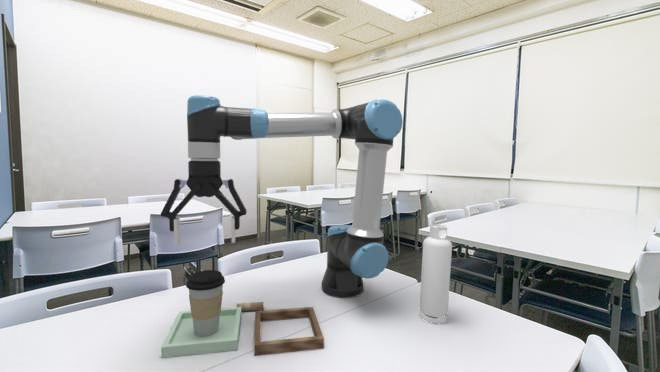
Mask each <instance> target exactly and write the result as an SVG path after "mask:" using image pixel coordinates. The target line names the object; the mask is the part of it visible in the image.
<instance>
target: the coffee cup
mask: <svg viewBox="0 0 660 372" xmlns="http://www.w3.org/2000/svg"><path fill="white" fill-rule="evenodd" d="M225 282H226V280H225V277H224V276H223V274H222V272H221V271H219V270H214V269H207V270H199V271H197V272H194V273H192V274H190V275H189V277H188V279H187V280H186V284H185V287H186V288H187V289H188V293H189V294H188V300H189V306H190V311H191V315H192V318H193V325H194V332H195V334H196V335H197V336H200V337H206V336H210V335H212V334H214V333H216V332H217V331H218V328H219V318H220V313H221V308H222V303H223V302H222V301H223V294H224V292H223V291H224V290H223V288H224V284H225Z"/></svg>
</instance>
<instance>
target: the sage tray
mask: <svg viewBox="0 0 660 372" xmlns="http://www.w3.org/2000/svg"><path fill="white" fill-rule="evenodd" d="M241 321H242V312H241V307H236V306H235V307H223V308H222V307H221V313H220V318H219V328H218V331H217V332H216V333H214V334H212V335H210V336H206V337H200V336H197V335H196V334H195V332H194V325H193V318H192V315H191V310H185V311H183V310H182V311H178V313H177V315H176V316H175V318H174V321H173V323H172V325H171V327H170V329H169V331H168V333H167V335H166V337H165V339H164V341H163V343H162V344H161V346H160V358H161V359H164V358H165V359H166V358H173V357H182V356H183V357H184V356H193V355H203V354H212V353H213V354H214V353H222V352H231V351H238V350H239V349H238V347H239V341H240V338H239V337H240V331H241V323H242V322H241Z"/></svg>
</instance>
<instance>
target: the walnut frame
mask: <svg viewBox="0 0 660 372" xmlns="http://www.w3.org/2000/svg"><path fill="white" fill-rule="evenodd" d="M254 312H255V314H254V315H255V317H254V353H253V354H254V356H263V355H271V354H272V355H273V354H281V353H290V352H291V353H292V352H299V351H309V350H310V351H312V350H318V349H319V350H320V349H324V348H325V346H324V344H325V338H324V335H323V333H322V330H321V327H320V323H319V321H318V320H319V319H318V318H317V314H316V311H315V309H314V306H305V307H294V308H293V307H292V308H291V307H290V308H279V309H268V310H266V309H265V310H256V311H254ZM305 318H306V319H307V318H308V320H309V322H310V323H309V324H310V326H311V329H312V330H311V331H312V333H313V336H305V337H295V338H294V337H292V338H283V339H273V340H264V341H261V322H270V321H282V320H295V319H305Z"/></svg>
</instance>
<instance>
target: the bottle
mask: <svg viewBox="0 0 660 372" xmlns="http://www.w3.org/2000/svg"><path fill="white" fill-rule="evenodd" d="M447 235H448V226H447V225H444V224H435V223H434V224H430V226H429V236H427V237H425V239H424V240H423V241H422V242H423V243H422V260H421V275H420V276H421V277H420V290H419V291H420V294H419V309H418V310H419V313H418V316H419V315H420V316H419V318H420V317H421V318H422V319H424V320H426V321H428V322H432V323H443V324H445V323H447V322H446V321H448V312H449V311H448V310H449V301H450V300H449V298H450V297H449V296H450V284H451V283H450V281H451V267H452V266H451V265H452V256H453V255H452V252H453V251H452V250H453V243H452V242H451V240H450V239H448V238H447ZM444 316H445V317H444ZM421 318H420V319H421ZM422 319H421V320H422ZM424 320H423V321H424ZM426 321H425V322H426ZM428 322H427V323H428ZM444 322H445V323H444ZM432 323H431V324H432Z"/></svg>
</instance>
